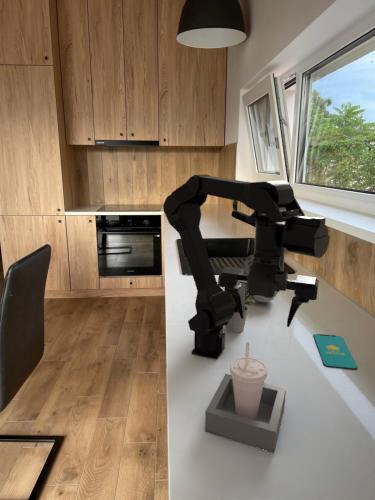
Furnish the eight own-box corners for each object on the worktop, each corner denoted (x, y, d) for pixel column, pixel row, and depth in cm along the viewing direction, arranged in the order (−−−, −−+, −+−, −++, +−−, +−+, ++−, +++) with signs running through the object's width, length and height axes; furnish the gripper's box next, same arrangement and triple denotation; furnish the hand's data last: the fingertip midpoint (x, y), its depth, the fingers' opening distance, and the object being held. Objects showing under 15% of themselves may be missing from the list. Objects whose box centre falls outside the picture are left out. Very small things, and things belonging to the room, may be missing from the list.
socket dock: (205, 431, 59) (205, 411, 58) (225, 391, 69) (225, 373, 68) (274, 453, 54) (276, 432, 53) (284, 406, 65) (286, 388, 64)
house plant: (273, 326, 97) (277, 270, 93) (253, 347, 86) (256, 285, 81) (228, 313, 104) (229, 261, 100) (203, 331, 93) (204, 274, 89)
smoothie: (247, 398, 66) (250, 331, 63) (272, 418, 61) (277, 347, 57) (221, 411, 63) (222, 342, 59) (245, 434, 57) (249, 359, 54)
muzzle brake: (267, 278, 136) (269, 253, 134) (278, 307, 109) (280, 276, 107) (243, 278, 137) (244, 252, 134) (248, 306, 110) (249, 275, 107)
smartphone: (324, 365, 77) (312, 333, 92) (323, 368, 78) (312, 335, 92) (358, 368, 76) (341, 335, 91) (358, 371, 76) (341, 338, 91)
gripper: (209, 252, 63) (208, 330, 66) (319, 264, 56) (310, 351, 59) (227, 239, 72) (225, 308, 76) (322, 248, 65) (314, 324, 69)
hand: (264, 322), depth 70 cm, fingers open, 9 cm apart
